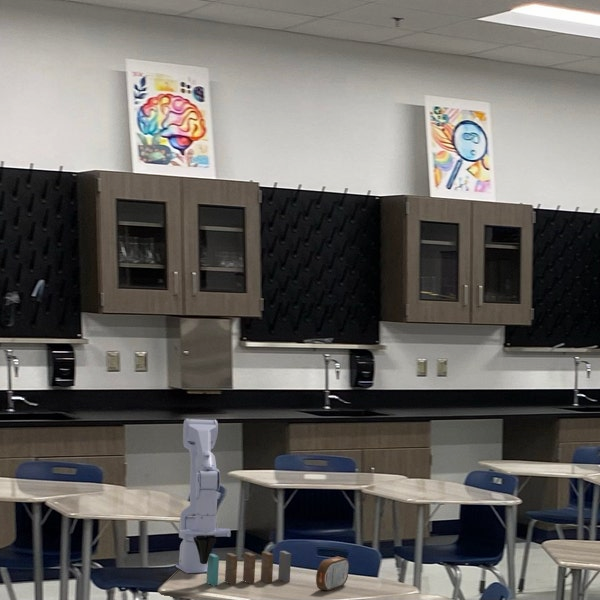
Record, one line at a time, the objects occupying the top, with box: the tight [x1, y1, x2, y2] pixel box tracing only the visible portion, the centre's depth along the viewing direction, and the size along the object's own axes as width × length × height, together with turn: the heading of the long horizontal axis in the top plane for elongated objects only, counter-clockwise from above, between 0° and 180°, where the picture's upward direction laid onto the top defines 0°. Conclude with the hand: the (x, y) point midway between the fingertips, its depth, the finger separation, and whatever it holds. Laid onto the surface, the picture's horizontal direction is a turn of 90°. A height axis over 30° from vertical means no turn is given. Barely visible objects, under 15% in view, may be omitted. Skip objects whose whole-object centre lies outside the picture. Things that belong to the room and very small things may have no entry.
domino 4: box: [277, 550, 292, 583], centre depth 333 cm, size 2×4×8 cm, turn 25°
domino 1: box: [224, 552, 239, 585], centre depth 326 cm, size 2×4×8 cm, turn 25°
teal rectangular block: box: [206, 553, 220, 586], centre depth 323 cm, size 2×4×8 cm, turn 25°
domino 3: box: [260, 551, 274, 584], centre depth 331 cm, size 2×4×8 cm, turn 25°
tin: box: [315, 555, 350, 592], centre depth 326 cm, size 15×3×8 cm, turn 149°
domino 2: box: [242, 551, 257, 585], centre depth 328 cm, size 2×4×8 cm, turn 25°
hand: (203, 563), depth 322 cm, fingers closed
